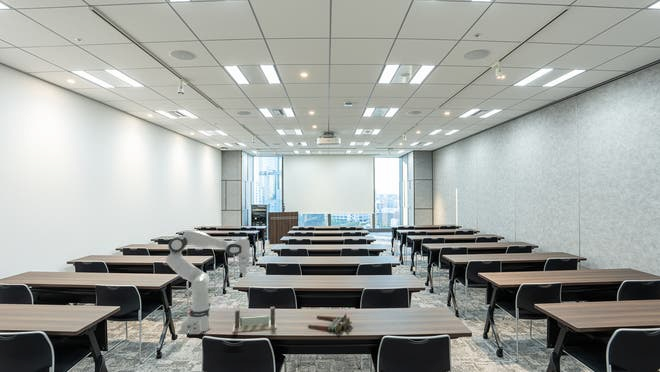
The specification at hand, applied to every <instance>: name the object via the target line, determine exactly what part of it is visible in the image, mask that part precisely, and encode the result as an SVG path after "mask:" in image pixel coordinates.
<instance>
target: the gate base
mask: <svg viewBox="0 0 660 372" xmlns="http://www.w3.org/2000/svg"><path fill="white" fill-rule="evenodd" d="M240 310H241V309H235V311H234V323H233V327H232V334H233V333H243V332H253V331H254V332H255V331H267V330H274V329H275V330H276V329H277V319H275V318H276V312H275V311H276V307H275V306H270V315H269V324H260V325H249V326H240V318H241V317H240V316H241V315H240V313H241V312H240Z"/></svg>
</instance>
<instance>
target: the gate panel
mask: <svg viewBox="0 0 660 372" xmlns="http://www.w3.org/2000/svg"><path fill="white" fill-rule="evenodd" d="M269 320H270V315H262V316H261V315H260V316H249V317H240V326H249V325H260V324H269Z"/></svg>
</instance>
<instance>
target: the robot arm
mask: <svg viewBox="0 0 660 372" xmlns="http://www.w3.org/2000/svg"><path fill="white" fill-rule="evenodd" d="M186 246H194V247H197V248H200V249H201V248H202V249H204V248H205V249H206V248H208V247H216V248H220V249H222V250H225V252H226V253H227V255H228V256H236V255H237V262H238V263H239V268H240V273H241V274H242V277H245V276H246V273H247V267H248V266H247V265H248V264H249V261H250V260H251V258H250V255H251V254H250V248H251V246H250V240H249V239H248V238H247V237H239V238H238V239H236V240H224V239H221V238H220V239H219V238H216V237H213V236H211V235H210V234H207V233H205V232H201V231H199V230H198V231H197V230H191V229H187V230H185V231H184V232H183V234H182V236H177V237H173V238H172V239H170V240H169V241H168V246H167V247H168V249H169V251H170V253H169V254H168V256H167V257H166V259H165V262H166V264H167V265H168V266H169V268H171V269H172V270H173V271H174V272H175V273H176V274H177V275H178V276H180V277H181V278H182V279H183V280H187V281H188V282H190V283H191V284H190V285H191V288H190V289H191V296H192V307H191V308H190V309H189V313H188V314H189V315H187V316H186V317H185V318H184V319H183V320H182V322H181V324H180V326H179V327H178V328H177V330H176V334H177V335H200V334H201V332H202V333H204V332H206V331H208V329H209V330H210V329H211V327H212V326H211V322H210V305H209V304H210V299H209V298H210V297H209V284H210V282H211V278H210V275H209V274H208V273H207V272H204V271H203V270H202V269H200V268H199V267H196V266H195V265H194V264H192V262H191V261H190V260H188V259H187V258H186V257H185V256H183V254H182V252H183V251H184V249H185V248H186ZM188 331H189V334H187V333H188ZM203 331H204V332H203Z"/></svg>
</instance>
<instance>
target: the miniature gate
mask: <svg viewBox="0 0 660 372" xmlns="http://www.w3.org/2000/svg"><path fill="white" fill-rule="evenodd" d="M317 318H320V319H319V320H324V319H326V321H332V323H331V324H329V325H318V324H317V325H316V324H308V325H307V327H308V328H309V329H314V328H315V330H323V331H332V332H335V335H338V334H339V332H340V331H342V328H343V330H344V331H343V332H346V331H347V329H348V328H350V325H351V324H353V322H352V321H351V320H350V317H348V315H347V313H345V314H344V315H343V316H328V315H327V316H326V315H316V319H317Z"/></svg>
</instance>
